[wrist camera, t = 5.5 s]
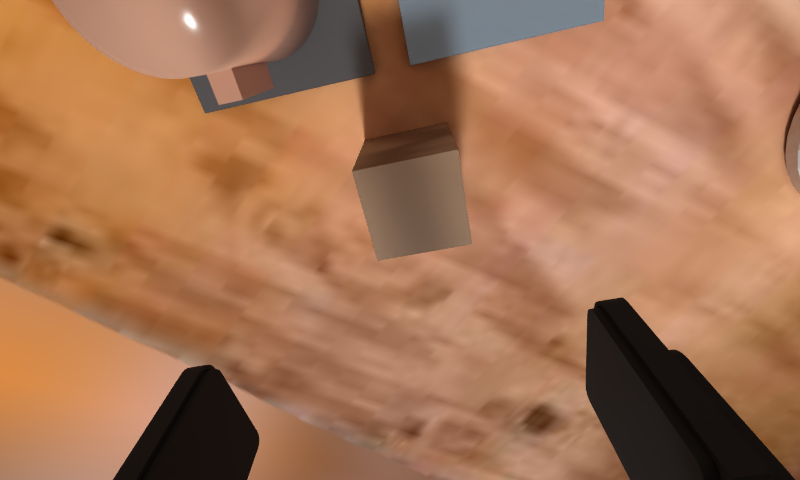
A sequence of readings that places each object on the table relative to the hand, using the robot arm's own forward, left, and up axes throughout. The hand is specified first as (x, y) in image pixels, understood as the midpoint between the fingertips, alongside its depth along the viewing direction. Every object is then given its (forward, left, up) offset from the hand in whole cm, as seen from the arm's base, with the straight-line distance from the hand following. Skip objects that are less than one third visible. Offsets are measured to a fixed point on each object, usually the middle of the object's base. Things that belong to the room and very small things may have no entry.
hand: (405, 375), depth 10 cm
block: (0, 0, -16) cm, 16 cm away
